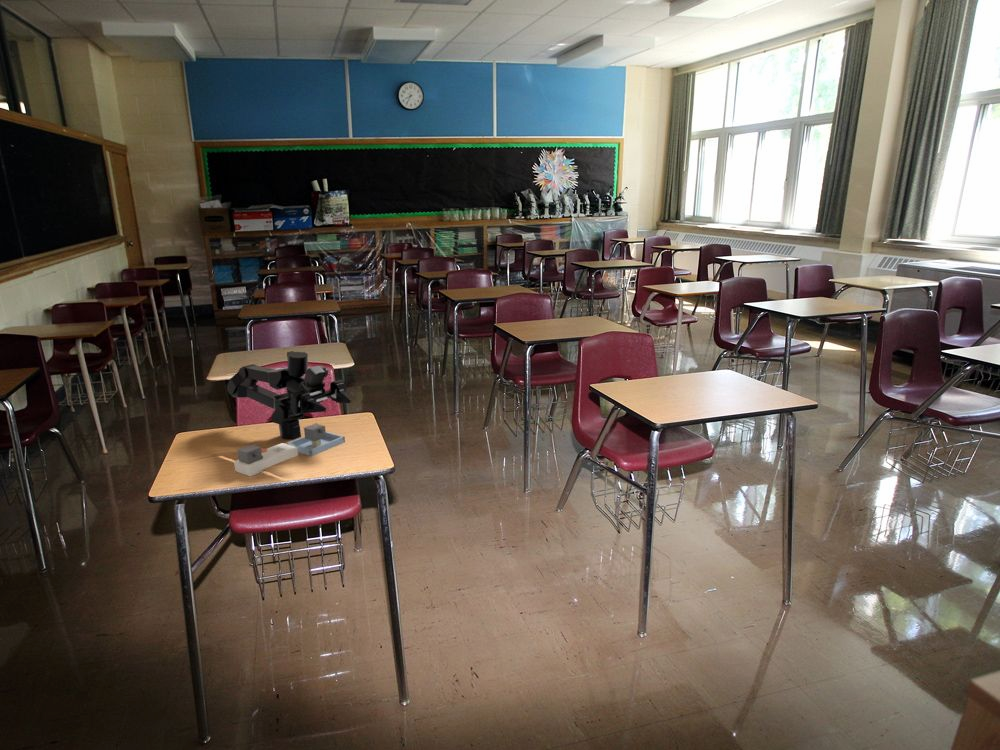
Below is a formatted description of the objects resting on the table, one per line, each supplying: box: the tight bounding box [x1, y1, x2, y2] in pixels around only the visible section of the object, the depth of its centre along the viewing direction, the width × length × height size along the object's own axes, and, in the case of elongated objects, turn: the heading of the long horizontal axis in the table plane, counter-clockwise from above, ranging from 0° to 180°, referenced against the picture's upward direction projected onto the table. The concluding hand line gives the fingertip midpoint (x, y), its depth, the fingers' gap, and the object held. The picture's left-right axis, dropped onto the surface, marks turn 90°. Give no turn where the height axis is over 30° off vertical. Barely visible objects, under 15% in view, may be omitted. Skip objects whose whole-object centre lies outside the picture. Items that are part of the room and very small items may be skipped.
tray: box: [286, 431, 346, 457], centre depth 190 cm, size 11×13×2 cm
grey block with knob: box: [303, 423, 327, 447], centre depth 189 cm, size 6×4×6 cm
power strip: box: [233, 442, 299, 477], centre depth 178 cm, size 9×16×6 cm, turn 145°
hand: (338, 405), depth 181 cm, fingers open, 9 cm apart
